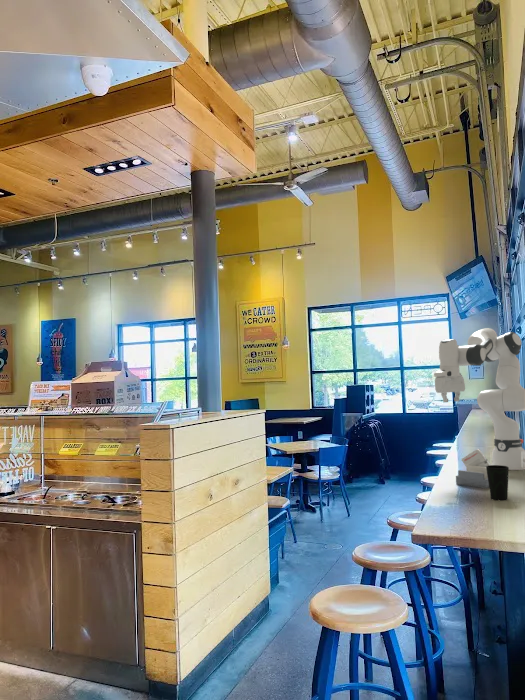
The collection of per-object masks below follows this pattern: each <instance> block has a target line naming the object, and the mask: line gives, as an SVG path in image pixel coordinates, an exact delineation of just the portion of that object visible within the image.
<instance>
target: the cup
mask: <svg viewBox="0 0 525 700" xmlns="http://www.w3.org/2000/svg"><path fill="white" fill-rule="evenodd" d="M486 469H487V475H488V482H489V488H488V489H489V495H490V499H491V500H492V499H493V501H498V500H500V501H501V502H503V501H507V500H508V498H509V497H508V493H509V492H508V491H509V471H510V470H509V467H507V466H501V465H489V466H486ZM500 501H499V502H500Z"/></svg>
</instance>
